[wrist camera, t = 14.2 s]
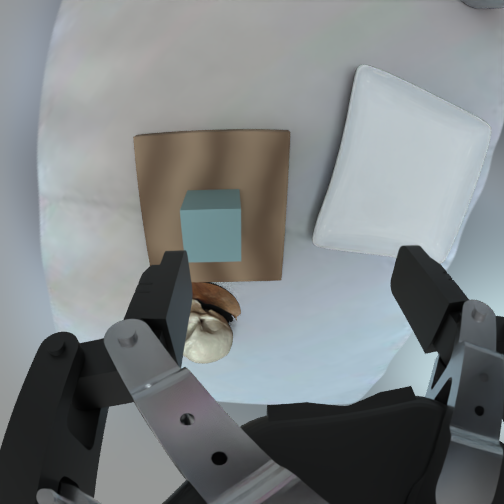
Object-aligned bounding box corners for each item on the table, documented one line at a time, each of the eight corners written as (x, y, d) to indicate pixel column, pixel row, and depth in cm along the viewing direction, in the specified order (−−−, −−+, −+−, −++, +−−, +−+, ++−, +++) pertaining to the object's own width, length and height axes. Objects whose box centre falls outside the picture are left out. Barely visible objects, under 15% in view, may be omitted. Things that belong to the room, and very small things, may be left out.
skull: (137, 328, 42) (146, 339, 33) (170, 268, 46) (188, 262, 36) (205, 363, 46) (231, 381, 37) (235, 306, 49) (266, 310, 40)
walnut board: (287, 130, 31) (290, 132, 30) (279, 273, 40) (281, 280, 39) (137, 134, 30) (133, 137, 29) (155, 275, 39) (153, 282, 38)
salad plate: (433, 254, 41) (445, 267, 38) (303, 234, 38) (310, 248, 35) (479, 121, 31) (495, 126, 28) (345, 62, 28) (357, 60, 25)
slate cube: (239, 189, 32) (240, 208, 28) (239, 235, 35) (241, 261, 30) (187, 190, 32) (179, 210, 27) (190, 236, 35) (185, 262, 30)
